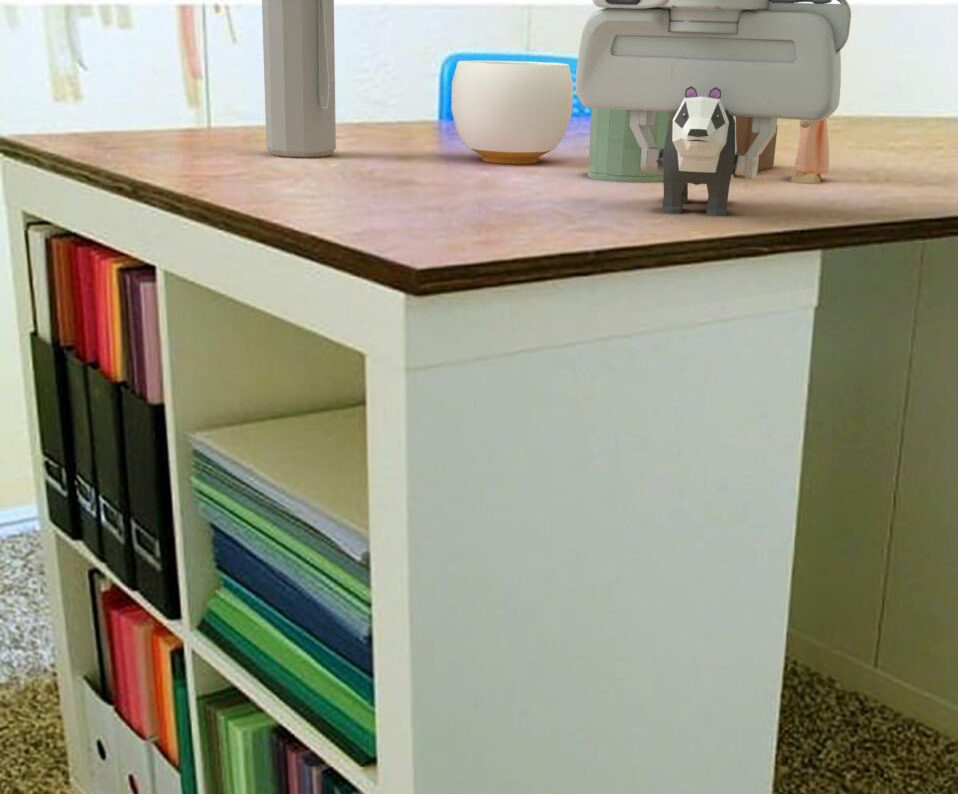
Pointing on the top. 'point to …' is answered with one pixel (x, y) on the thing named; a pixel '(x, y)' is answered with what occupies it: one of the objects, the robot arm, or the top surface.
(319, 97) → the water bottle
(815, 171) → the grandmother figurine
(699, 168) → the giant panda
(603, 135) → the green cup
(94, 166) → the top surface
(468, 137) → the cup
